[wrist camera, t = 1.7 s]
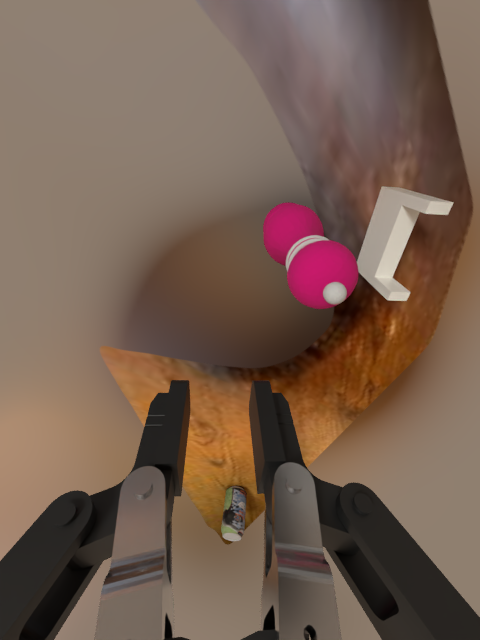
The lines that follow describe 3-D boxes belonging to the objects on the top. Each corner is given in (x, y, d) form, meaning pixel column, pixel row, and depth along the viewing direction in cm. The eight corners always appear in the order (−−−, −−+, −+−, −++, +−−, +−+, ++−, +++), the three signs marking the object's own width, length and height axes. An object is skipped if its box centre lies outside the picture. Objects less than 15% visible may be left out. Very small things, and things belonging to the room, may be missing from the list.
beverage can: (247, 491, 81) (251, 541, 71) (223, 495, 81) (223, 544, 71) (244, 482, 77) (248, 532, 67) (219, 485, 77) (219, 536, 67)
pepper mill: (280, 261, 40) (324, 350, 23) (248, 225, 36) (272, 298, 20) (321, 227, 37) (402, 299, 21) (291, 185, 34) (358, 230, 17)
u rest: (381, 186, 35) (430, 201, 27) (400, 187, 35) (453, 202, 27) (354, 268, 41) (387, 300, 33) (370, 269, 41) (406, 301, 33)
